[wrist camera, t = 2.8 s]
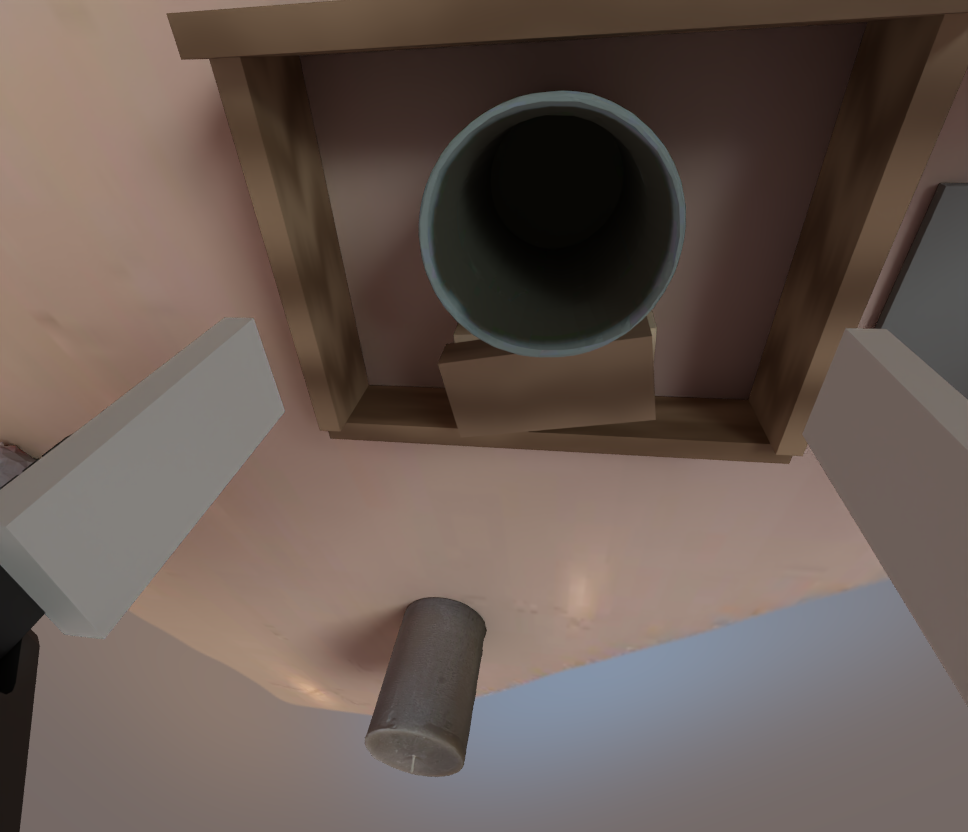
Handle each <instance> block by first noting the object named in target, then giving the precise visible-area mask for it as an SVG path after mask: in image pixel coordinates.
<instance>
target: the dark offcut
mask: <svg viewBox="0 0 968 832" xmlns="http://www.w3.org/2000/svg"><path fill="white" fill-rule="evenodd" d="M438 367H439V370H440V373H441V376H442V380H443V383H444V386H445V389H446V392H447V396H448V399H449V402H450V405H451V408H452V411H453V415H454V418H455V421H456V424H457V427H458V430H459V434H460V437H461V438H463V437H473V436H484V435H495V434H506V433H517V432H528V431H539V430H550V429H561V428H572V427H583V426H594V425H605V424H616V423H627V422H638V421H649V420H656V414H655V390H654V367H653V343H652V333H651V330H650V326H649V322H648V319H647V316H646V317H645V318H644V319H643V320H642V321H640V322H639V323H638V324H637V325H636V326H634V327H633V328H632V329H631V330H630V331H629V332H627V333H626V334H624V335H623V336H621V337H619V338H617V339H616V340H614V341H612V342H611V343H609V344H607V345H605V346H602V347H600V348H597V349H595V350H593V351H590V352H586V353H582V354H578V355H575V356H565V357H529V356H522V355H517V354H514V353H511V352H508V351H505V350H501V349H498V348H496V347H493V346H491V345H489V344H488V343H486V342H484V341H482V340H481V339H479V340H472V341H465V342H458V343H450V344H446V346H445V348H444V351H443V353H442V355H441V357H440V360H439V362H438Z"/></svg>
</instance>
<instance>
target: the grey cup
mask: <svg viewBox="0 0 968 832" xmlns="http://www.w3.org/2000/svg"><path fill="white" fill-rule="evenodd" d="M685 227H686V205H685V199H684V194H683V188H682V183H681V180H680V177H679V174H678V172H677V169H676V167H675V164H674V162H673V160H672V158H671V156H670V155H669V153H668V151H667V149H666V147H665V146H664V145H663V143H662V142H661V141H660V140H659V138H658V137H657V136H656V135H655V134H654V132H653V131H652V130H651V129H650V128H649V127H648V126H647V125H646V124H644V123H643V122H642V121H641V120H640V119H639V118H637V117H636V116H635V115H634V114H633V113H631V112H630V111H628V110H626V109H624V108H623V107H621V106H619V105H617V104H616V103H614V102H612V101H609V100H607V99H604V98H602V97H599V96H596V95H594V94H591V93H584V92H577V91H552V92H541V93H533V94H528V95H524V96H519V97H516V98H514V99H511V100H509V101H506V102H504V103H501V104H499V105H497V106H495V107H494V108H492V109H490V110H488V111H487V112H485V113H484V114H482V115H481V116H479V117H478V118H476V119H475V120H473V121H472V122H471V123H470V124H469V125H468V126H467V127H466V128H464V129H463V130H462V131H461V132H460V133H459V134H458V135H457V136H456V137H455V138H454V139H453V140H452V141H451V142H450V144H449V145H448V146H447V147H446V149H445V150H444V151H443V152H442V154H441V156H440V157H439V159H438V161H437V163H436V165H435V166H434V168H433V170H432V172H431V174H430V176H429V179H428V182H427V184H426V187H425V190H424V194H423V197H422V203H421V208H420V215H419V241H420V248H421V256H422V260H423V264H424V267H425V271H426V274H427V276H428V279H429V281H430V283H431V285H432V288H433V290H434V292H435V294H436V295H437V297H438V298H439V300H440V301H441V303H442V304H443V306H444V307H445V308H446V310H447V311H448V312H449V313H450V314H451V315H452V316H453V318H454V319H455V320H456V321H457V322H458V323H459V324H460V325H462V326H463V327H464V328H465V329H466V330H468V331H469V332H470V333H471V334H473V335H474V336H476V337H477V338H479V339H481V340H482V341H484V342H486V343H488V344H489V345H491V346H493V347H496V348H498V349H501V350H505V351H508V352H511V353H514V354H517V355H522V356H529V357H565V356H575V355H578V354H582V353H586V352H590V351H593V350H595V349H597V348H600V347H602V346H605V345H607V344H609V343H611V342H612V341H614V340H616V339H617V338H619V337H621V336H623V335H624V334H626V333H627V332H629V331H630V330H631V329H632V328H633V327H634V326H636V325H637V324H638V323H639V322H640V321H642V320H643V319H644V318H645V317H646V315H647V314H648V313H649V312H650V311H651V310H652V309H653V308H654V306H655V305H656V303H657V302H658V301H659V299H660V298H661V296H662V295H663V293H664V292H665V290H666V288H667V286H668V284H669V283H670V281H671V279H672V277H673V275H674V272H675V270H676V267H677V264H678V261H679V258H680V254H681V251H682V246H683V242H684V235H685Z"/></svg>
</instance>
